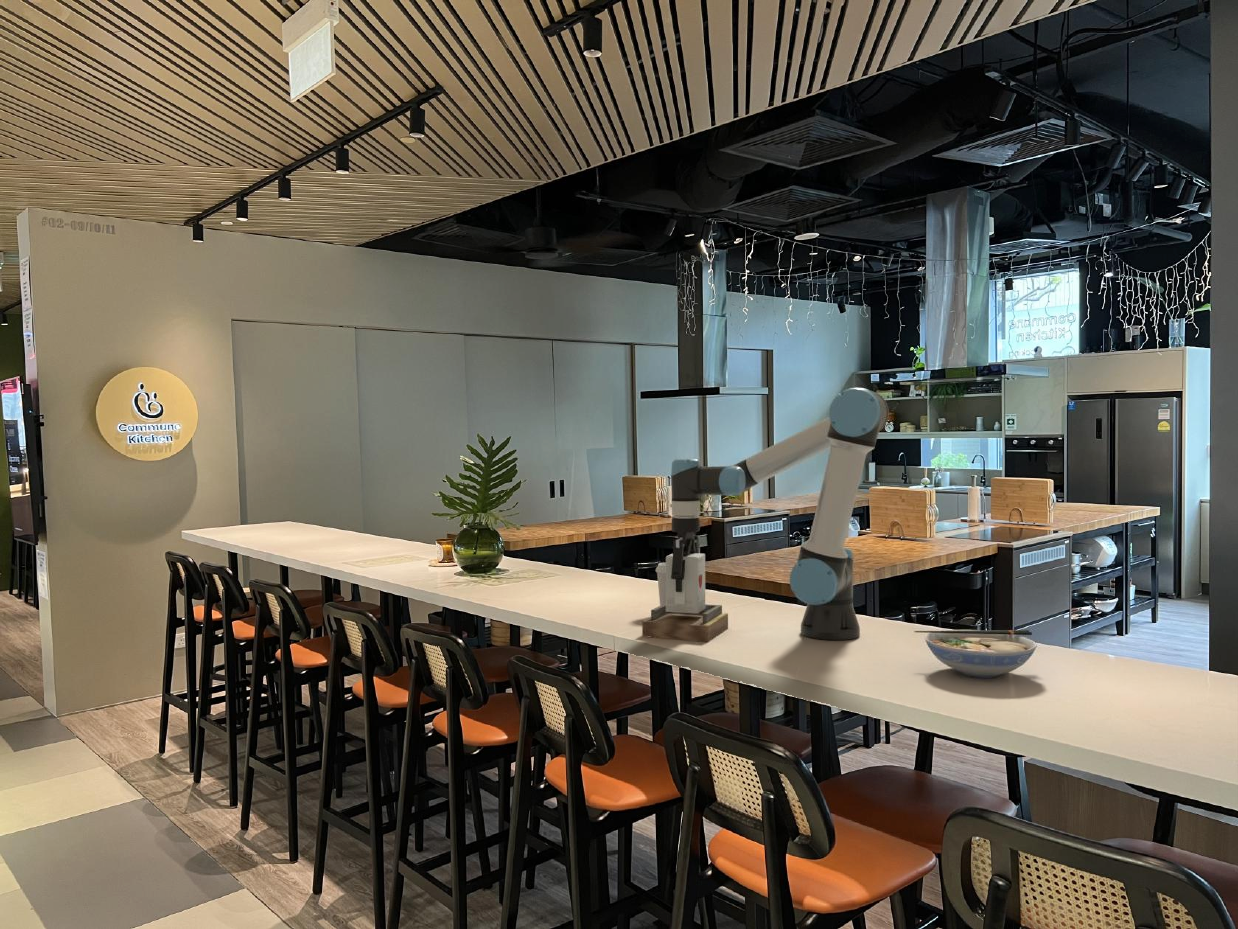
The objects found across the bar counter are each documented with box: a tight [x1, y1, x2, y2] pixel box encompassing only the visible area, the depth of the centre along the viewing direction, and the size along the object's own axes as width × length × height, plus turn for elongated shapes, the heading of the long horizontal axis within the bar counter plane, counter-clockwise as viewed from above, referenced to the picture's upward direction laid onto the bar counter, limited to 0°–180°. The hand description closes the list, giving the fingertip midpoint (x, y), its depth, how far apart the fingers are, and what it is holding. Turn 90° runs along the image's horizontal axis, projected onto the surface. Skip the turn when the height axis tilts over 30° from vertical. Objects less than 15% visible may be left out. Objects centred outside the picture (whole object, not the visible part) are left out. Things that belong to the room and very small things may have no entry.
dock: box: [641, 603, 729, 643], centre depth 240 cm, size 18×18×6 cm
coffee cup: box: [655, 562, 666, 606], centre depth 265 cm, size 10×10×15 cm
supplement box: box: [665, 552, 706, 614], centre depth 240 cm, size 9×9×15 cm
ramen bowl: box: [914, 629, 1038, 679], centre depth 195 cm, size 25×23×8 cm
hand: (686, 601), depth 240 cm, fingers closed on supplement box, 9 cm apart
